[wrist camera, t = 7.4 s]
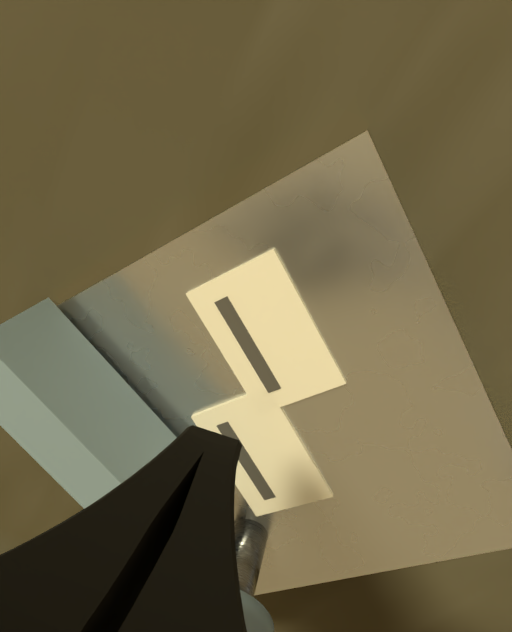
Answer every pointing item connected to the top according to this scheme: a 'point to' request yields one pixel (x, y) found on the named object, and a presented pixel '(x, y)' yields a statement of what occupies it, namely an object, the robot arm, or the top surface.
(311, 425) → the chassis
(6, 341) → the swing arm
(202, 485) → the robot arm
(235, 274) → the power supply label
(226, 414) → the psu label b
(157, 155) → the top surface
